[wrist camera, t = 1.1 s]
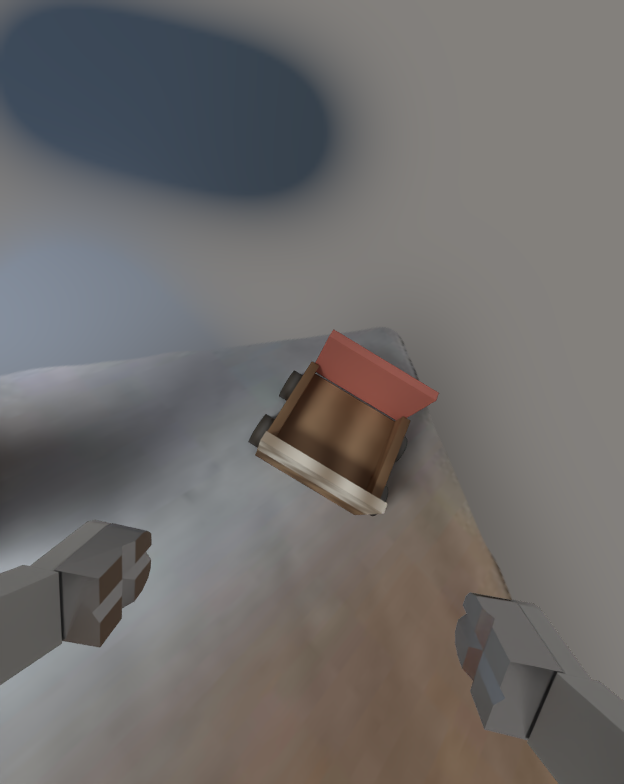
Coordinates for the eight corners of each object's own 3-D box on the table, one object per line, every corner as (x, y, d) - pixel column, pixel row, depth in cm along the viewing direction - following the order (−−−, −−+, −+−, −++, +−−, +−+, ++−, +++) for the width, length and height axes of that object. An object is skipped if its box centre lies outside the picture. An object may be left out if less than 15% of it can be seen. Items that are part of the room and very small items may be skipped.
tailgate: (311, 369, 44) (329, 336, 36) (317, 360, 45) (335, 326, 37) (399, 422, 44) (436, 400, 36) (403, 412, 45) (440, 389, 37)
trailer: (245, 449, 42) (248, 432, 34) (293, 375, 48) (305, 346, 40) (364, 520, 42) (395, 521, 34) (397, 437, 48) (430, 421, 40)
